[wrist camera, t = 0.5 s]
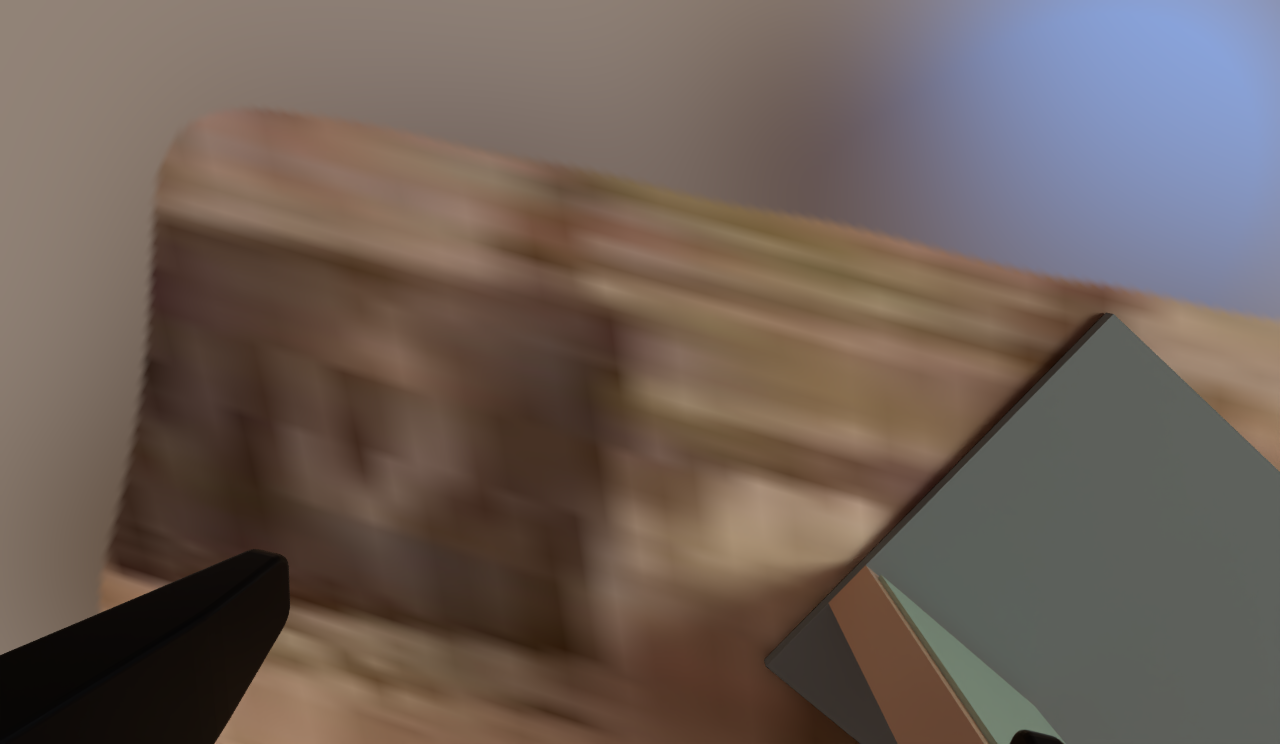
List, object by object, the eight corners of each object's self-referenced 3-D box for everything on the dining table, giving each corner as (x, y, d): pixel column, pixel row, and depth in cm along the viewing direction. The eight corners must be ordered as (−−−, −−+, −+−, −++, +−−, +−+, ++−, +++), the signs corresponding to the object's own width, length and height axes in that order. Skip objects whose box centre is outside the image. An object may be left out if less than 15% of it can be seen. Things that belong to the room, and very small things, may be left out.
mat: (1083, 921, 28) (1089, 931, 27) (764, 659, 26) (765, 666, 26) (1430, 620, 26) (1442, 627, 25) (1105, 312, 24) (1113, 314, 24)
